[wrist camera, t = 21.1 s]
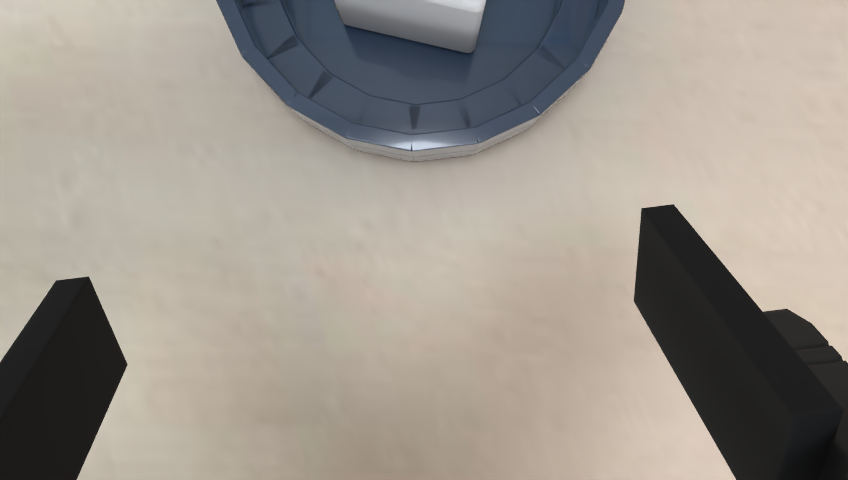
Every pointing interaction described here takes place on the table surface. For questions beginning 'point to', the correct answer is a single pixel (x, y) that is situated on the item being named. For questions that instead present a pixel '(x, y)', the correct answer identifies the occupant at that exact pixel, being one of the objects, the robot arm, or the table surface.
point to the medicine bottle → (418, 20)
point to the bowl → (421, 72)
